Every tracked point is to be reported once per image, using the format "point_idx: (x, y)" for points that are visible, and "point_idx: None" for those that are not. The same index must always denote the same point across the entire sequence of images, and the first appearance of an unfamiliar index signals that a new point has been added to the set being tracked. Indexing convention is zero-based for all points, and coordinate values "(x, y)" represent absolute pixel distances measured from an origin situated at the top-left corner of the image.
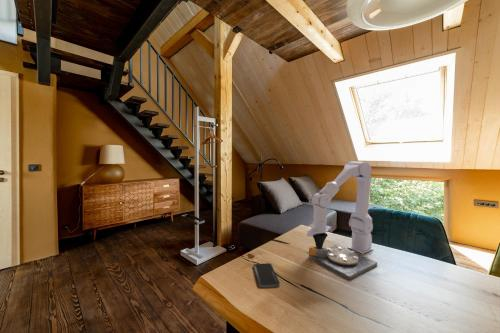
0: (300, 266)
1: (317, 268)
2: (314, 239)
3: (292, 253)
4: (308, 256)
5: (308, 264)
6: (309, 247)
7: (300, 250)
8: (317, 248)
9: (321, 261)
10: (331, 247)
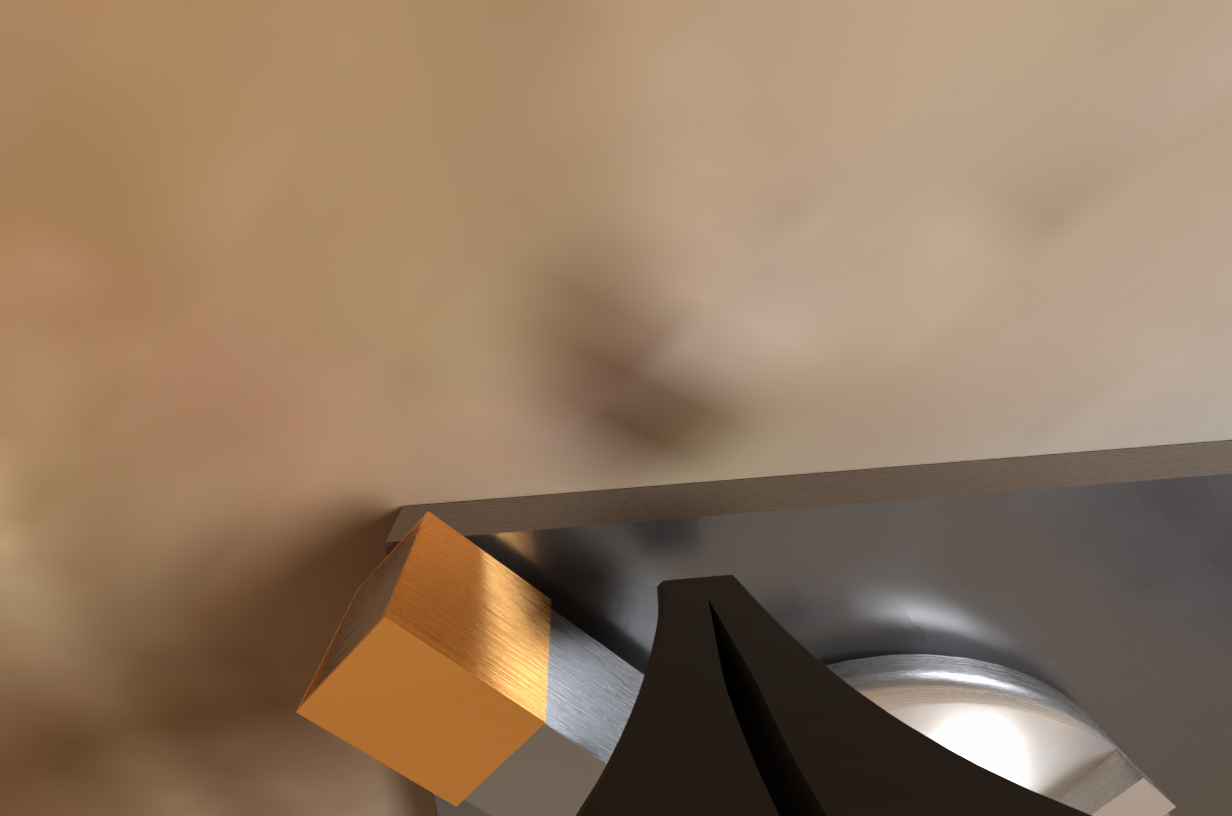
0: (49, 665)
1: (311, 802)
2: (622, 749)
3: (169, 166)
4: (394, 523)
5: (242, 670)
6: (323, 696)
7: (481, 129)
8: (508, 798)
9: (442, 812)
10: (1159, 501)
